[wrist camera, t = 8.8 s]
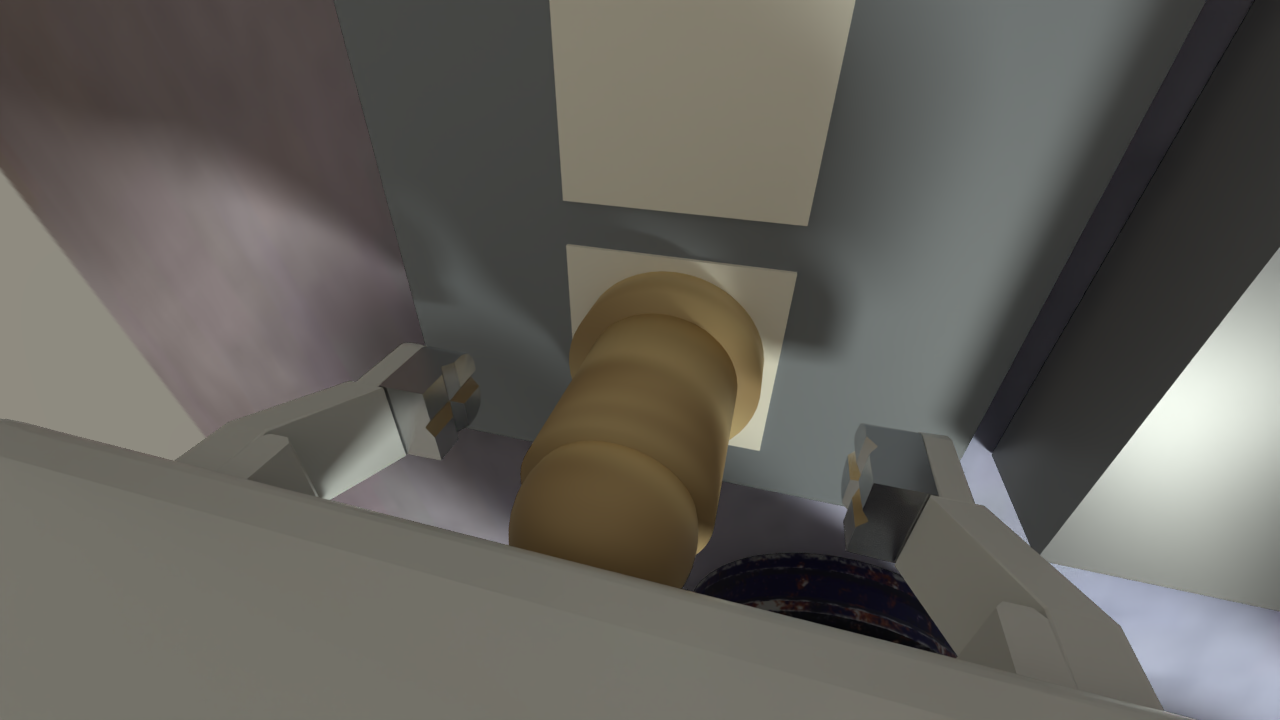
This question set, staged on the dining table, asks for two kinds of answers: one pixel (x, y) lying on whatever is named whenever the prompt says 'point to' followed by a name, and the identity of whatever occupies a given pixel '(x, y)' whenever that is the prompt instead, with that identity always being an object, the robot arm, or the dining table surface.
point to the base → (1174, 365)
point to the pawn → (642, 429)
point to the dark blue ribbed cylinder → (830, 596)
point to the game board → (755, 187)
